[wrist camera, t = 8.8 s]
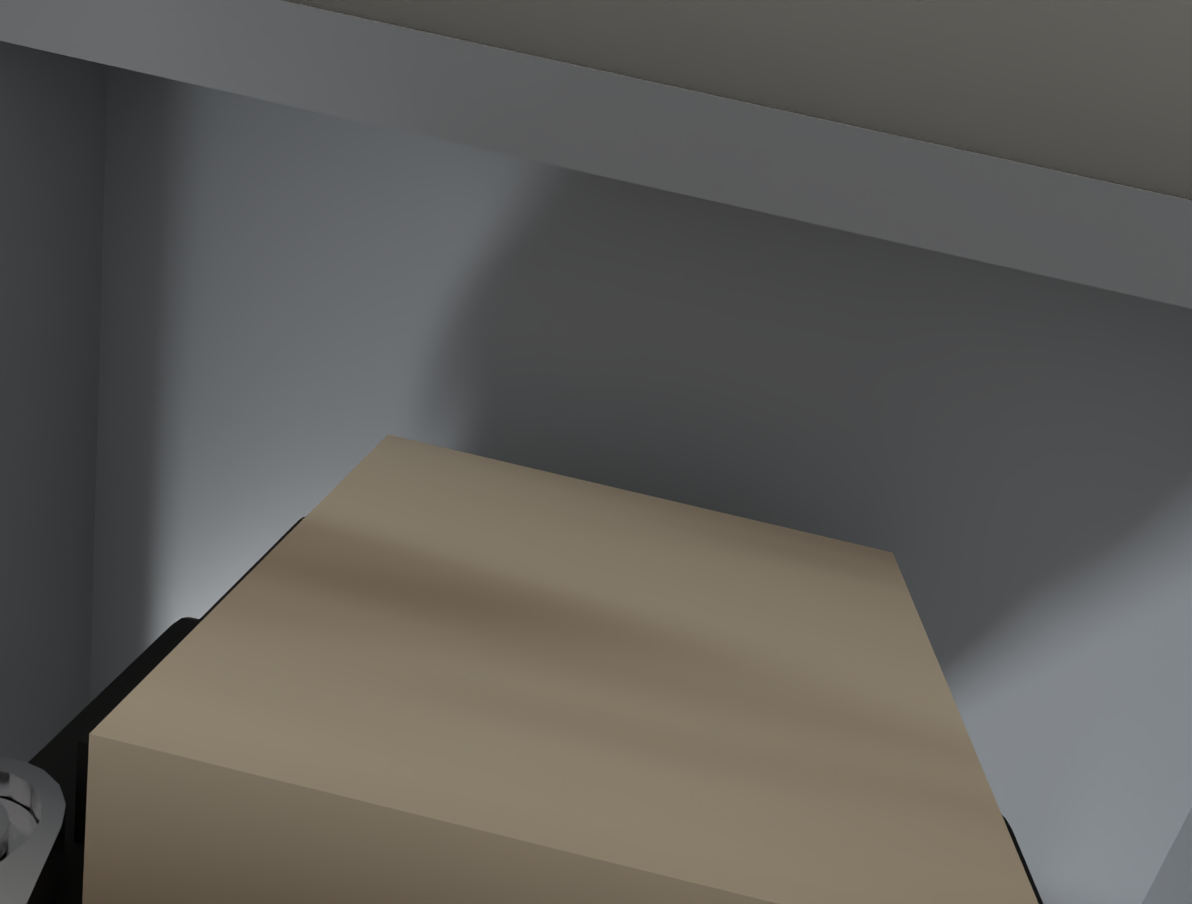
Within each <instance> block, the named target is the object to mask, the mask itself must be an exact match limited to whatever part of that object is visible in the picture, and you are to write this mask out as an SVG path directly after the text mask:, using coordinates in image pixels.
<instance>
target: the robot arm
mask: <svg viewBox="0 0 1192 904" xmlns="http://www.w3.org/2000/svg"><path fill="white" fill-rule="evenodd" d="M304 518H305V517H302V518H301V519H299V520H298V521H297V522H296V523H295V524H294V525H293V526H292V527H291V528H290V529H289V530H288V531H287V532H286V533H285V534H284V535H283V536H282V537H281V538H280V539H279V540H278V541H277V542H276V543H275V544H274V545H273V546H272V547H271V548H270V549H269V550H268V551H267V552H266V553H265V554H264V555H263V556H262V557H261V558H260V559H259V560H258V561H257V562H256V563H255V564H254V565H253V566H252V567H251V568H250V569H249V570H248V571H247V572H246V573H245V574H244V575H243V576H242V577H241V578H240V579H239V580H238V581H237V582H236V583H235V584H234V585H233V586H232V587H231V588H230V589H229V590H228V591H227V592H226V593H225V594H224V595H223V596H222V597H221V598H220V599H219V600H218V601H217V602H216V603H215V604H214V605H213V606H212V607H211V608H210V609H209V610H208V611H207V612H206V613H205V614H204V615H203V616H202V617H201V618H200V619H196V618H192V617H184V618H181V619H179V620H178V621H176V622H175V623H173V624H172V625H171V626H170V627H169V628H168V629H167V630H166V631H165V632H164V633H163V634H162V635H160V636H159V637H158V638H157V639H156V640H155V641H154V642H153V643H152V644H151V645H150V646H149V647H148V648H147V649H146V650H145V651H144V652H143V653H142V654H141V655H140V656H139V657H138V658H136V659H135V660H134V661H133V662H132V663H131V664H130V665H129V666H128V667H127V668H126V669H125V670H124V671H123V672H122V673H121V674H120V675H119V676H118V677H117V678H116V679H115V680H113V681H112V682H111V683H110V684H109V685H108V686H107V687H106V688H105V689H104V690H103V691H102V692H101V693H100V694H99V695H98V696H97V697H96V698H95V699H94V700H93V701H92V702H91V703H89V704H88V705H87V706H86V707H85V708H84V709H83V710H82V711H81V712H80V713H79V714H78V715H77V716H76V717H75V718H74V719H73V720H72V721H71V722H70V723H69V724H68V725H67V726H65V727H64V728H63V729H62V730H61V731H60V732H59V733H58V734H57V735H56V736H55V737H54V738H53V739H52V740H51V741H50V742H49V743H48V744H47V745H46V746H45V747H44V748H42V749H41V750H40V751H39V752H38V753H37V754H36V755H35V756H34V757H33V758H32V759H31V760H30V761H29V762H28V763H27V762H24V761H22V760H20V759H14V758H8V757H1V756H0V904H82V897H83V873H84V849H85V825H86V801H87V777H88V753H89V734H90V733H91V732H92V731H93V730H94V729H95V727H96V726H97V725H98V724H99V723H100V722H101V721H102V720H103V719H104V718H105V717H106V716H107V715H108V714H109V713H110V712H111V711H112V710H113V709H114V708H115V707H116V706H117V705H118V704H119V703H120V702H121V701H122V700H123V699H124V698H125V697H126V696H127V695H128V694H129V693H130V692H131V691H132V690H133V689H134V688H135V687H136V686H137V685H138V684H139V683H140V682H141V681H142V680H143V679H144V678H145V677H146V676H147V675H148V674H149V673H150V672H151V671H152V670H153V669H154V668H155V667H156V666H157V665H158V664H159V663H160V662H161V661H162V660H163V659H164V658H165V657H166V656H167V655H168V654H169V653H170V652H171V651H172V650H173V649H174V648H175V647H176V646H177V645H178V644H179V643H180V642H181V641H182V640H183V639H184V638H185V637H186V636H187V635H188V634H189V633H190V632H191V631H192V630H193V629H194V628H195V627H196V626H197V625H198V624H199V623H200V622H201V621H202V620H203V619H204V618H205V617H206V616H207V615H208V614H209V613H210V612H211V611H212V610H213V609H214V608H215V607H216V606H217V605H218V604H219V603H220V602H221V601H222V600H223V599H224V598H225V597H226V596H227V595H228V594H229V593H230V592H231V591H232V590H233V589H234V588H235V587H236V586H237V585H238V584H239V583H240V582H241V581H242V580H243V579H244V578H245V577H246V576H247V575H248V574H249V573H250V572H251V571H252V570H253V569H254V568H255V567H256V566H257V565H258V564H259V563H260V562H261V561H262V560H263V559H264V558H265V557H266V556H267V555H268V554H269V553H270V552H271V551H272V550H273V549H274V548H275V547H276V546H277V545H278V544H279V543H280V542H281V541H282V540H283V539H284V538H285V537H286V536H287V535H288V534H289V533H290V532H291V531H292V530H293V529H294V528H295V527H296V526H297V525H298V524H299V523H300V522H301V521H302V520H303V519H304ZM1002 817H1003V819H1004V822H1005V824H1006V826H1007V829H1008V831H1009V834H1010V836H1011V838H1012V841H1013V843H1014V846H1015V848H1016V850H1017V853H1018V855H1019V858H1020V860H1021V863H1022V865H1023V867H1024V870H1025V872H1026V875H1027V877H1028V879H1029V882H1030V884H1031V887H1032V889H1033V891H1034V894H1035V896H1036V899H1037V901H1038V903H1039V904H1043V902H1042V899H1041V897H1040V895H1039V892H1038V890H1037V888H1036V885H1035V883H1034V880H1033V878H1032V876H1031V873H1030V871H1029V868H1028V866H1027V864H1026V861H1025V859H1024V856H1023V854H1022V852H1021V849H1020V847H1019V844H1018V842H1017V840H1016V837H1015V835H1014V833H1013V830H1012V828H1011V826H1010V825H1009V823H1008V821H1007V820H1006V818H1005V817H1004V816H1002Z"/></svg>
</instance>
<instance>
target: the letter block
mask: <svg viewBox="0 0 1192 904" xmlns="http://www.w3.org/2000/svg"><path fill="white" fill-rule="evenodd" d="M82 904H1039V903H1038V901H1037V899H1036V896H1035V894H1034V891H1033V889H1032V887H1031V884H1030V882H1029V879H1028V877H1027V875H1026V872H1025V870H1024V867H1023V865H1022V863H1021V860H1020V858H1019V855H1018V853H1017V850H1016V848H1015V846H1014V843H1013V841H1012V838H1011V836H1010V834H1009V831H1008V829H1007V826H1006V824H1005V822H1004V819H1003V817H1002V814H1001V812H1000V810H999V807H998V805H997V802H996V800H995V798H994V795H993V793H992V790H991V788H990V786H989V783H988V781H987V778H986V776H985V773H984V771H983V769H982V766H981V764H980V761H979V759H978V757H977V754H976V752H975V749H974V747H973V745H972V742H971V740H970V737H969V735H968V733H967V730H966V728H965V725H964V723H963V721H962V718H961V716H960V713H959V711H958V708H957V706H956V704H955V701H954V699H953V696H952V694H951V692H950V689H949V687H948V684H947V682H946V680H945V677H944V675H943V672H942V670H941V668H940V665H939V663H938V660H937V658H936V656H935V653H934V651H933V648H932V646H931V643H930V641H929V639H928V636H927V634H926V631H925V629H924V627H923V624H922V622H921V619H920V617H919V615H918V612H917V610H916V607H915V605H914V603H913V600H912V598H911V595H910V593H909V591H908V588H907V586H906V583H905V581H904V579H903V576H902V574H901V571H900V569H899V566H898V564H897V562H896V559H895V557H894V554H893V553H892V552H888V551H884V550H880V549H875V548H871V547H867V546H863V545H858V544H854V543H850V542H845V541H841V540H837V539H833V538H828V537H824V536H820V535H815V534H811V533H807V532H803V531H798V530H794V529H790V528H786V527H781V526H777V525H773V524H768V523H764V522H760V521H756V520H751V519H747V518H743V517H739V516H734V515H730V514H726V513H721V512H717V511H713V510H709V509H704V508H700V507H696V506H692V505H687V504H683V503H679V502H674V501H670V500H666V499H662V498H657V497H653V496H649V495H645V494H640V493H636V492H632V491H627V490H623V489H619V488H615V487H610V486H606V485H602V484H597V483H593V482H589V481H585V480H580V479H576V478H572V477H568V476H563V475H559V474H555V473H550V472H546V471H542V470H538V469H533V468H529V467H525V466H521V465H516V464H512V463H508V462H503V461H499V460H495V459H491V458H486V457H482V456H478V455H474V454H469V453H465V452H461V451H456V450H452V449H448V448H444V447H439V446H435V445H431V444H427V443H422V442H418V441H414V440H409V439H405V438H401V437H397V436H392V435H387V436H386V437H385V438H384V439H383V440H382V441H381V442H380V443H379V444H378V445H377V446H376V447H375V448H374V449H373V450H372V451H371V452H370V453H369V454H368V455H367V456H366V457H365V458H364V459H363V460H362V461H361V462H360V463H359V464H358V465H357V466H356V467H355V468H354V469H353V470H352V471H351V472H350V473H349V474H348V475H347V476H346V477H345V478H344V479H343V480H342V481H341V482H340V483H339V484H338V485H337V486H336V487H335V488H334V489H333V490H332V491H331V492H330V493H329V494H328V495H327V496H326V497H325V498H324V499H323V500H322V501H321V502H320V503H319V504H318V505H317V506H316V507H315V508H314V509H313V510H312V511H311V512H310V513H309V514H308V515H307V516H306V517H305V518H304V519H303V520H302V521H301V522H300V523H299V524H298V525H297V526H296V527H295V528H294V529H293V530H292V531H291V532H290V533H289V534H288V535H287V536H286V537H285V538H284V539H283V540H282V541H281V542H280V543H279V544H278V545H277V546H276V547H275V548H274V549H273V550H272V551H271V552H270V553H269V554H268V555H267V556H266V557H265V558H264V559H263V560H262V561H261V562H260V563H259V564H258V565H257V566H256V567H255V568H254V569H253V570H252V571H251V572H250V573H249V574H248V575H247V576H246V577H245V578H244V579H243V580H242V581H241V582H240V583H239V584H238V585H237V586H236V587H235V588H234V589H233V590H232V591H231V592H230V593H229V594H228V595H227V596H226V597H225V598H224V599H223V600H222V601H221V602H220V603H219V604H218V605H217V606H216V607H215V608H214V609H213V610H212V611H211V612H210V613H209V614H208V615H207V616H206V617H205V618H204V619H203V620H202V621H201V622H200V623H199V624H198V625H197V626H196V627H195V628H194V629H193V630H192V631H191V632H190V633H189V634H188V635H187V636H186V637H185V638H184V639H183V640H182V641H181V642H180V643H179V644H178V645H177V646H176V647H175V648H174V649H173V650H172V651H171V652H170V653H169V654H168V655H167V656H166V657H165V658H164V659H163V660H162V661H161V662H160V663H159V664H158V665H157V666H156V667H155V668H154V669H153V670H152V671H151V672H150V673H149V674H148V675H147V676H146V677H145V678H144V679H143V680H142V681H141V682H140V683H139V684H138V685H137V686H136V687H135V688H134V689H133V690H132V691H131V692H130V693H129V694H128V695H127V696H126V697H125V698H124V699H123V700H122V701H121V702H120V703H119V704H118V705H117V706H116V707H115V708H114V709H113V710H112V711H111V712H110V713H109V714H108V715H107V716H106V717H105V718H104V719H103V720H102V721H101V722H100V723H99V724H98V725H97V726H96V727H95V729H94V730H93V731H92V732H91V733H90V734H89V753H88V777H87V801H86V825H85V849H84V873H83V897H82Z"/></svg>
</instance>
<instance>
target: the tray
mask: <svg viewBox="0 0 1192 904" xmlns="http://www.w3.org/2000/svg"><path fill="white" fill-rule="evenodd" d="M387 435H392V436H397V437H401V438H405V439H409V440H414V441H418V442H422V443H427V444H431V445H435V446H439V447H444V448H448V449H452V450H456V451H461V452H465V453H469V454H474V455H478V456H482V457H486V458H491V459H495V460H499V461H503V462H508V463H512V464H516V465H521V466H525V467H529V468H533V469H538V470H542V471H546V472H550V473H555V474H559V475H563V476H568V477H572V478H576V479H580V480H585V481H589V482H593V483H597V484H602V485H606V486H610V487H615V488H619V489H623V490H627V491H632V492H636V493H640V494H645V495H649V496H653V497H657V498H662V499H666V500H670V501H674V502H679V503H683V504H687V505H692V506H696V507H700V508H704V509H709V510H713V511H717V512H721V513H726V514H730V515H734V516H739V517H743V518H747V519H751V520H756V521H760V522H764V523H768V524H773V525H777V526H781V527H786V528H790V529H794V530H798V531H803V532H807V533H811V534H815V535H820V536H824V537H828V538H833V539H837V540H841V541H845V542H850V543H854V544H858V545H863V546H867V547H871V548H875V549H880V550H884V551H888V552H892V553H893V554H894V557H895V559H896V562H897V564H898V566H899V569H900V571H901V574H902V576H903V579H904V581H905V583H906V586H907V588H908V591H909V593H910V595H911V598H912V600H913V603H914V605H915V607H916V610H917V612H918V615H919V617H920V619H921V622H922V624H923V627H924V629H925V631H926V634H927V636H928V639H929V641H930V643H931V646H932V648H933V651H934V653H935V656H936V658H937V660H938V663H939V665H940V668H941V670H942V672H943V675H944V677H945V680H946V682H947V684H948V687H949V689H950V692H951V694H952V696H953V699H954V701H955V704H956V706H957V708H958V711H959V713H960V716H961V718H962V721H963V723H964V725H965V728H966V730H967V733H968V735H969V737H970V740H971V742H972V745H973V747H974V749H975V752H976V754H977V757H978V759H979V761H980V764H981V766H982V769H983V771H984V773H985V776H986V778H987V781H988V783H989V786H990V788H991V790H992V793H993V795H994V798H995V800H996V802H997V805H998V807H999V810H1000V812H1001V814H1002V816H1004V817H1005V818H1006V820H1007V821H1008V823H1009V825H1010V826H1011V828H1012V830H1013V833H1014V835H1015V837H1016V840H1017V842H1018V844H1019V847H1020V849H1021V852H1022V854H1023V856H1024V859H1025V861H1026V864H1027V866H1028V868H1029V871H1030V873H1031V876H1032V878H1033V880H1034V883H1035V885H1036V888H1037V890H1038V892H1039V895H1040V897H1041V899H1042V902H1043V904H1192V200H1189V199H1185V198H1180V197H1176V196H1171V195H1167V194H1162V193H1158V192H1153V191H1148V190H1144V189H1139V188H1135V187H1130V186H1126V185H1121V184H1117V183H1112V182H1108V181H1103V180H1098V179H1094V178H1089V177H1085V176H1080V175H1076V174H1071V173H1067V172H1062V171H1057V170H1053V169H1048V168H1044V167H1039V166H1035V165H1030V164H1026V163H1021V162H1017V161H1012V160H1007V159H1003V158H998V157H994V156H989V155H985V154H980V153H976V152H971V151H966V150H962V149H957V148H953V147H948V146H944V145H939V144H935V143H930V142H926V141H921V140H916V139H912V138H907V137H903V136H898V135H894V134H889V133H885V132H880V131H876V130H871V129H866V128H862V127H857V126H853V125H848V124H844V123H839V122H835V121H830V120H825V119H821V118H816V117H812V116H807V115H803V114H798V113H794V112H789V111H785V110H780V109H775V108H771V107H766V106H762V105H757V104H753V103H748V102H744V101H739V100H734V99H730V98H725V97H721V96H716V95H712V94H707V93H703V92H698V91H694V90H689V89H684V88H680V87H675V86H671V85H666V84H662V83H657V82H653V81H648V80H643V79H639V78H634V77H630V76H625V75H621V74H616V73H612V72H607V71H603V70H598V69H593V68H589V67H584V66H580V65H575V64H571V63H566V62H562V61H557V60H553V59H548V58H543V57H539V56H534V55H530V54H525V53H521V52H516V51H512V50H507V49H502V48H498V47H493V46H489V45H484V44H480V43H475V42H471V41H466V40H462V39H457V38H452V37H448V36H443V35H439V34H434V33H430V32H425V31H421V30H416V29H411V28H407V27H402V26H398V25H393V24H389V23H384V22H380V21H375V20H371V19H366V18H361V17H357V16H352V15H348V14H343V13H339V12H334V11H330V10H325V9H320V8H316V7H311V6H307V5H302V4H298V3H293V2H289V1H284V0H0V756H1V757H8V758H14V759H20V760H22V761H24V762H27V763H28V762H29V761H30V760H31V759H32V758H33V757H34V756H35V755H36V754H37V753H38V752H39V751H40V750H41V749H42V748H44V747H45V746H46V745H47V744H48V743H49V742H50V741H51V740H52V739H53V738H54V737H55V736H56V735H57V734H58V733H59V732H60V731H61V730H62V729H63V728H64V727H65V726H67V725H68V724H69V723H70V722H71V721H72V720H73V719H74V718H75V717H76V716H77V715H78V714H79V713H80V712H81V711H82V710H83V709H84V708H85V707H86V706H87V705H88V704H89V703H91V702H92V701H93V700H94V699H95V698H96V697H97V696H98V695H99V694H100V693H101V692H102V691H103V690H104V689H105V688H106V687H107V686H108V685H109V684H110V683H111V682H112V681H113V680H115V679H116V678H117V677H118V676H119V675H120V674H121V673H122V672H123V671H124V670H125V669H126V668H127V667H128V666H129V665H130V664H131V663H132V662H133V661H134V660H135V659H136V658H138V657H139V656H140V655H141V654H142V653H143V652H144V651H145V650H146V649H147V648H148V647H149V646H150V645H151V644H152V643H153V642H154V641H155V640H156V639H157V638H158V637H159V636H160V635H162V634H163V633H164V632H165V631H166V630H167V629H168V628H169V627H170V626H171V625H172V624H173V623H175V622H176V621H178V620H179V619H181V618H184V617H192V618H196V619H200V618H201V617H202V616H203V615H204V614H205V613H206V612H207V611H208V610H209V609H210V608H211V607H212V606H213V605H214V604H215V603H216V602H217V601H218V600H219V599H220V598H221V597H222V596H223V595H224V594H225V593H226V592H227V591H228V590H229V589H230V588H231V587H232V586H233V585H234V584H235V583H236V582H237V581H238V580H239V579H240V578H241V577H242V576H243V575H244V574H245V573H246V572H247V571H248V570H249V569H250V568H251V567H252V566H253V565H254V564H255V563H256V562H257V561H258V560H259V559H260V558H261V557H262V556H263V555H264V554H265V553H266V552H267V551H268V550H269V549H270V548H271V547H272V546H273V545H274V544H275V543H276V542H277V541H278V540H279V539H280V538H281V537H282V536H283V535H284V534H285V533H286V532H287V531H288V530H289V529H290V528H291V527H292V526H293V525H294V524H295V523H296V522H297V521H298V520H299V519H301V518H302V517H306V516H307V515H308V514H309V513H310V512H311V511H312V510H313V509H314V508H315V507H316V506H317V505H318V504H319V503H320V502H321V501H322V500H323V499H324V498H325V497H326V496H327V495H328V494H329V493H330V492H331V491H332V490H333V489H334V488H335V487H336V486H337V485H338V484H339V483H340V482H341V481H342V480H343V479H344V478H345V477H346V476H347V475H348V474H349V473H350V472H351V471H352V470H353V469H354V468H355V467H356V466H357V465H358V464H359V463H360V462H361V461H362V460H363V459H364V458H365V457H366V456H367V455H368V454H369V453H370V452H371V451H372V450H373V449H374V448H375V447H376V446H377V445H378V444H379V443H380V442H381V441H382V440H383V439H384V438H385V437H386V436H387Z"/></svg>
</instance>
